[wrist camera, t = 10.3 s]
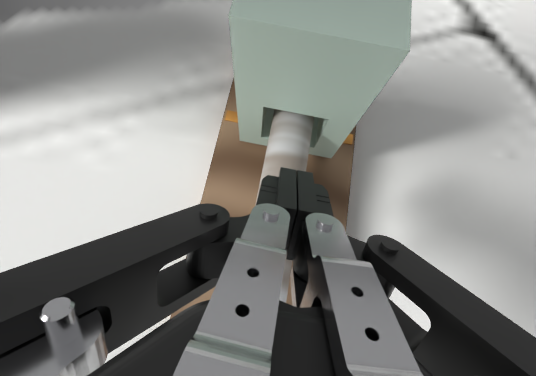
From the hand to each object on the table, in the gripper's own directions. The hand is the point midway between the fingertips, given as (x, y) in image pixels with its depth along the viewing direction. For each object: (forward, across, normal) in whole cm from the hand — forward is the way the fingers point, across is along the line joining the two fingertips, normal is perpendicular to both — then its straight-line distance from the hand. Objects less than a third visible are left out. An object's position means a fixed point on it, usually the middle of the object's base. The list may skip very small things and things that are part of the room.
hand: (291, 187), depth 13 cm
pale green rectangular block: (+12, 0, +1) cm, 12 cm away
